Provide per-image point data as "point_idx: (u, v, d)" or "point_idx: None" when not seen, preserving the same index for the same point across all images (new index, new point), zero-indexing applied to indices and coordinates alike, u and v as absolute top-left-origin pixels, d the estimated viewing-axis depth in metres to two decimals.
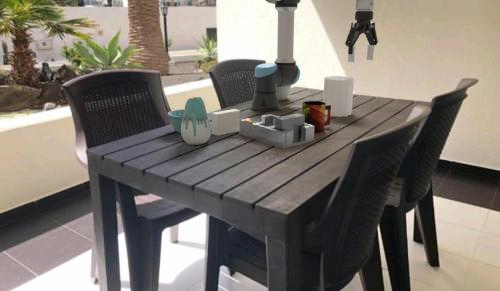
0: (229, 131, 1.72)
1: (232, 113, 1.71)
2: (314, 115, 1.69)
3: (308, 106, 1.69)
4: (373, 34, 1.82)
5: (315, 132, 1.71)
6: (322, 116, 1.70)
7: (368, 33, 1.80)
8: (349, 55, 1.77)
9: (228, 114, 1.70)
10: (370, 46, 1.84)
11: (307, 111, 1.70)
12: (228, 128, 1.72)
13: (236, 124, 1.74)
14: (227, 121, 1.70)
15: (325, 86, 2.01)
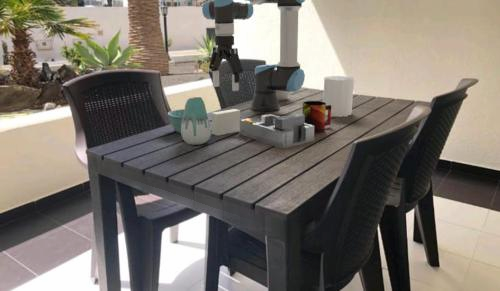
0: (229, 131, 1.72)
1: (232, 113, 1.71)
2: (314, 115, 1.69)
3: (309, 106, 1.69)
4: None
5: (315, 132, 1.71)
6: (322, 116, 1.70)
7: None
8: None
9: (228, 114, 1.70)
10: None
11: (307, 111, 1.70)
12: (228, 128, 1.72)
13: (236, 124, 1.74)
14: (227, 121, 1.70)
15: (325, 86, 2.01)
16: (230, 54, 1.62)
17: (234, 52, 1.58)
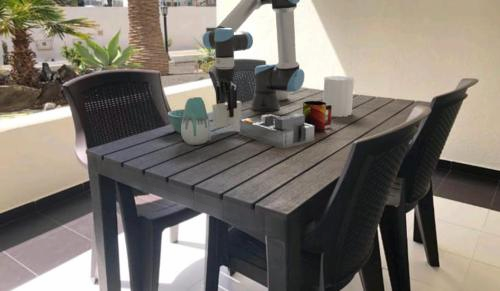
0: None
1: None
2: (315, 115, 1.69)
3: (309, 106, 1.69)
4: None
5: (316, 132, 1.71)
6: (323, 116, 1.71)
7: None
8: None
9: None
10: None
11: (308, 111, 1.70)
12: None
13: (238, 116, 1.73)
14: None
15: (325, 86, 2.01)
16: (230, 88, 1.67)
17: (234, 89, 1.63)
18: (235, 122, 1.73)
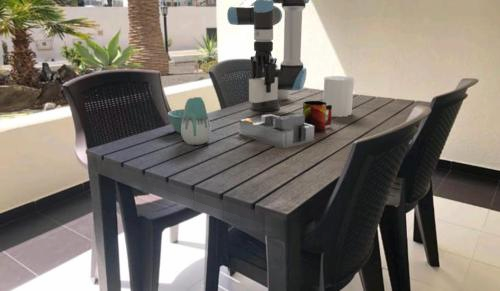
0: None
1: None
2: (315, 115, 1.69)
3: (309, 106, 1.69)
4: None
5: (316, 132, 1.71)
6: (323, 116, 1.71)
7: None
8: None
9: None
10: None
11: (308, 111, 1.70)
12: None
13: (274, 92, 1.68)
14: None
15: (325, 86, 2.01)
16: None
17: (272, 62, 1.58)
18: (271, 98, 1.68)
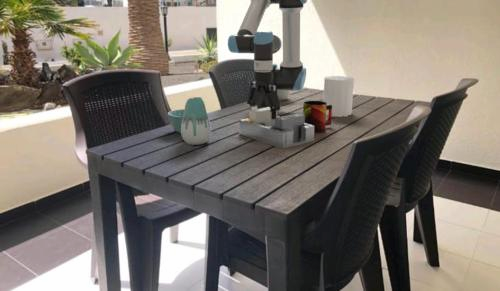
0: None
1: None
2: (315, 115, 1.69)
3: (309, 106, 1.69)
4: None
5: (316, 132, 1.71)
6: (323, 116, 1.71)
7: None
8: None
9: (266, 112, 1.68)
10: None
11: (308, 111, 1.70)
12: (266, 126, 1.70)
13: None
14: (265, 119, 1.69)
15: (325, 86, 2.01)
16: (268, 90, 1.65)
17: (273, 89, 1.61)
18: None
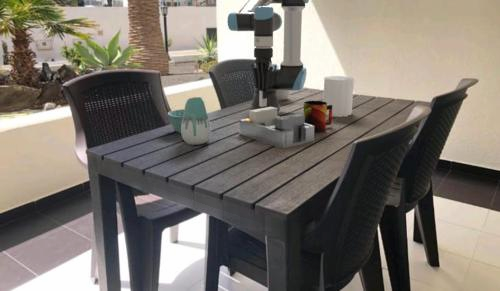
0: None
1: (270, 111, 1.69)
2: (315, 115, 1.69)
3: (310, 106, 1.69)
4: None
5: (316, 132, 1.72)
6: (323, 116, 1.71)
7: None
8: None
9: (266, 112, 1.68)
10: None
11: (308, 111, 1.70)
12: (266, 126, 1.70)
13: (273, 122, 1.72)
14: (265, 119, 1.69)
15: (325, 86, 2.01)
16: (267, 69, 1.63)
17: (272, 70, 1.60)
18: None
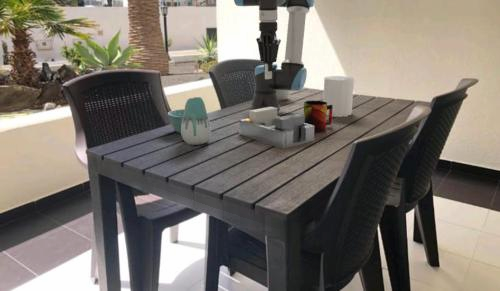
0: None
1: (270, 111, 1.69)
2: (316, 115, 1.69)
3: (310, 106, 1.69)
4: None
5: (317, 132, 1.72)
6: (324, 116, 1.71)
7: None
8: None
9: (266, 112, 1.68)
10: None
11: (309, 111, 1.70)
12: (266, 126, 1.70)
13: (273, 122, 1.72)
14: (265, 119, 1.69)
15: (325, 86, 2.01)
16: (272, 42, 1.69)
17: (276, 43, 1.66)
18: None
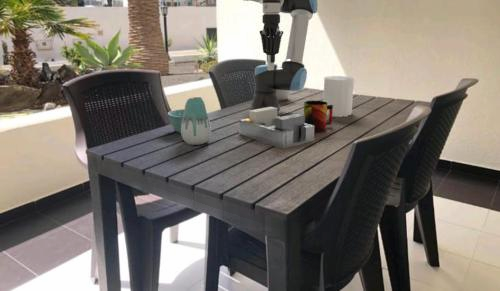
0: None
1: (270, 111, 1.69)
2: (316, 115, 1.70)
3: (310, 106, 1.69)
4: None
5: (317, 132, 1.72)
6: (324, 116, 1.71)
7: None
8: None
9: (266, 112, 1.68)
10: None
11: (309, 111, 1.70)
12: (266, 126, 1.70)
13: (273, 122, 1.72)
14: (265, 119, 1.69)
15: (325, 86, 2.01)
16: None
17: (279, 35, 1.71)
18: None
